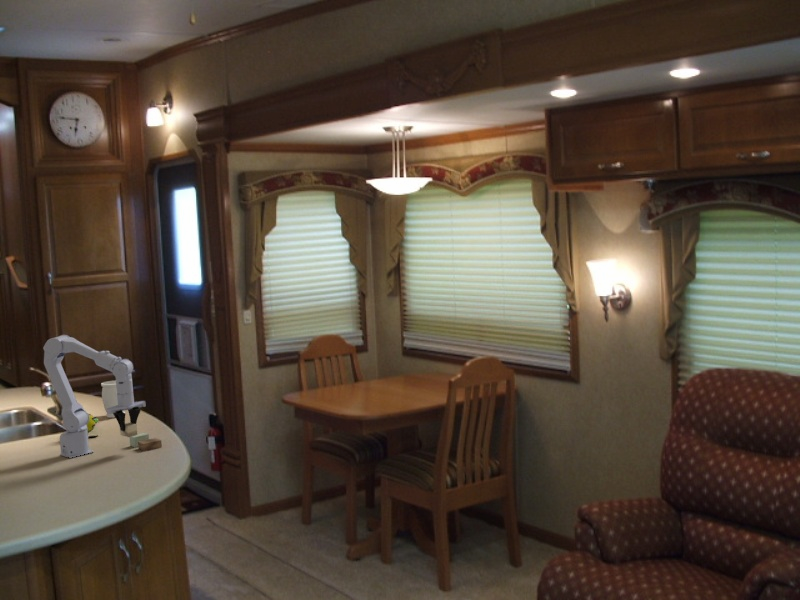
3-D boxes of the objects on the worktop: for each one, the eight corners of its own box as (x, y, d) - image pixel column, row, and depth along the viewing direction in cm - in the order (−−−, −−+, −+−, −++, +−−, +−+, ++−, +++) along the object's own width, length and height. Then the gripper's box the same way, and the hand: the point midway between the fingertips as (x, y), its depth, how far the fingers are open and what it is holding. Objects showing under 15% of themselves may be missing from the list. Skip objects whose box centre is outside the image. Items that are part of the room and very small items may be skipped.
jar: (102, 415, 399) (99, 381, 397) (126, 412, 403) (123, 379, 401) (105, 419, 389) (102, 385, 388) (130, 416, 393) (127, 382, 392)
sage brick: (134, 447, 338) (134, 437, 338) (130, 446, 341) (129, 436, 340) (149, 444, 343) (148, 434, 342) (144, 443, 345) (143, 432, 345)
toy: (82, 434, 382) (72, 440, 353) (79, 411, 382) (68, 415, 353) (104, 431, 384) (96, 436, 355) (101, 408, 384) (92, 411, 355)
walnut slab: (143, 451, 332) (143, 443, 332) (138, 449, 336) (137, 441, 336) (161, 448, 337) (161, 440, 336) (156, 445, 341) (155, 438, 340)
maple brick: (137, 435, 330) (136, 424, 330) (128, 437, 328) (127, 426, 327) (129, 432, 334) (128, 422, 334) (120, 435, 332) (119, 424, 331)
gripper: (112, 397, 322) (115, 435, 323) (148, 390, 332) (151, 426, 333) (102, 395, 327) (105, 432, 328) (138, 388, 337) (141, 424, 338)
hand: (128, 429), depth 331 cm, fingers closed on maple brick, 3 cm apart
